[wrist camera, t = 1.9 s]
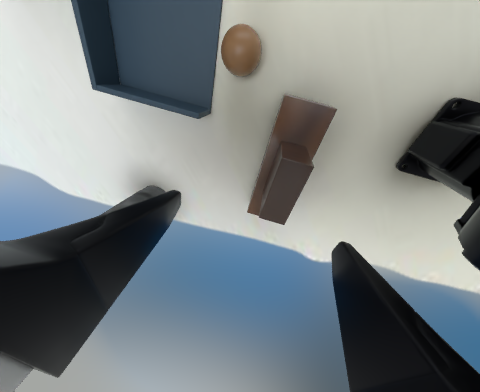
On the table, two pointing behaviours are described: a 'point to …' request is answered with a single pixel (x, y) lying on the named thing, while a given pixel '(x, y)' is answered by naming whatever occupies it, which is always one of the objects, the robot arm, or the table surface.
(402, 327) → the robot arm
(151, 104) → the dustpan
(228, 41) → the brown rounded piece
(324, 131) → the brush
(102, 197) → the table surface
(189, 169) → the table surface
